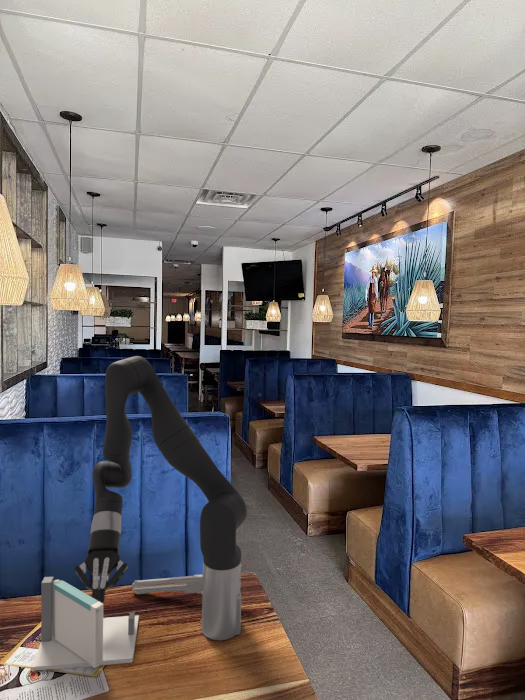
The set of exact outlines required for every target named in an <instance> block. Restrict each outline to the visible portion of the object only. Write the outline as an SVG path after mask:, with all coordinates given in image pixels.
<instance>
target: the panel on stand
mask: <svg viewBox="0 0 525 700" xmlns="http://www.w3.org/2000/svg"><path fill="white" fill-rule="evenodd" d="M54 581H55V580H54V576H44V577H43V579H42V581H41V583H40V584H41V585H40V586H41V590H40V591H41V593H40V595H41V596H40V597H41V600H40V601H41V603H40V604H41V612H40V613H41V617H40V618H41V621H40V623H41V624H40V625H41V627H40V628H41V629H40V631H41V633H40V635H41V637H40V639H41V640H40V641H41V642H40V644H39V647H38V649H37V651H36V653H35V656H34V658H33V659H32V663H31V665H30V668H29V669H30V670H31V671H32V670H41V669H54V670H63V669H64V668H65V669H74V668H86V666H87V667H88V668H89V667H92V666H91V665H90V663H88V662H87V661H85V660H84V659H82V658H81V657H80V656H78V655H77V654H75V653H74V652H73V651H71V650H70V649H68V648H67V647H65V646H64V645H63V644H61V643H60V642H58V641H57V640H56V639H55V638H54V637H53V582H54ZM135 613H136V612H135V611H132V612H129V613H128V614H129V615H124V616H123V615H122V616H112V617H111V616H110V617H103V663H102V664H100V665H99V666H108V665H116V664H117V665H118V664H119V665H120V664H132V663H133V661H134V656H135V649H136V641H137V634H138V628H139V627H138V625H139V620H140V615H139V614H135ZM61 668H62V669H61ZM30 670H29V671H30ZM31 671H30V672H31ZM32 672H33V671H32Z"/></svg>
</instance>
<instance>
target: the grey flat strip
mask: <svg viewBox="0 0 525 700" xmlns="http://www.w3.org/2000/svg"><path fill="white" fill-rule="evenodd" d="M131 585H132V586H131V587H132V592H133V593H135V594H136V595H143V594H144V595H146V594H150V593H152V592H164V593H172V592H184V593H185V594H194V593H197V595H202V588H203V573H202V574H194V575H188V576H187V575H186V576H177V577H176V576H175V577H166V578H165V577H164V578H153V579H142V580H139V579H135V580H134V581H133V583H132V584H131ZM241 587H242V581H241V580H240V588H241Z"/></svg>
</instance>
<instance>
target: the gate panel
mask: <svg viewBox="0 0 525 700" xmlns="http://www.w3.org/2000/svg"><path fill="white" fill-rule="evenodd" d="M103 618H104V604H103V603H101V602H99V601H97V600H96V599H94V598H92V596H90V595H88V594H87V593H85V592H84V591H82V590H80V589H79V588H76V587H75V586H73V585H71V583H70V584H69V583H67V582H66V581H64V580H60V579H55V580H54V582H53V637H54V638H55V639H56V640H57V641H58V642H60V643H61V644H63V645H64V646H65V647H67V648H68V649H70V650H71V651H73V652H74V653H75V654H77V655H78V656H80V657H81V658H82V659H84V660H85V661H87V662H88V663H90V665H91V666H90V667H92V668H94V669H96V668H97V667H99V666H101V665H100V664H102V663H103Z"/></svg>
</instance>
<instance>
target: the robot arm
mask: <svg viewBox="0 0 525 700" xmlns="http://www.w3.org/2000/svg"><path fill="white" fill-rule="evenodd" d="M104 386H105V387H104V391H105V413H106V414H105V416H106V417H105V418H106V419H105V420H106V424H105V426H106V427H105V432H104V433H105V435H104V440H103V449H102V456H103V458H104V459H105V460H100V461H98V462H96V464H95V465H94V466H93V469H92V482H93V488H94V492H95V493H94V494H95V502H94V510H93V517H92V522H91V526H90V532H89V540H88V547H87V548H88V549H87V554H86V556H85V557H84V561H83V562H81V564H80V565H75V567H74V571H75V574H77V576H78V578H79V579H80V580H81V582H82V583H83V585H84V586H85V588H86V589H87V590H90V591H92V592H91V597H92V598H94V599H96V600H97V601H99V602H101V603H103V605H104V604H105V598H106V591H107V590H109V589H113V588H114V587H115V585H117V583H118V582H119V580H120V579H121V578H122V577H123V575H124V574H125V573H126V572H127V570H128V563H127V562H123V561H122V560H121V556H120V543H121V534H122V512H123V511H122V510H123V503H124V502H123V496H122V495H121V494H120V493H118V492H115V491H111V490H110V489H107V488H115V489H116V488H117V489H121V488H122V489H123V488H126V487H127V486H129V485H130V483H131V481H132V477H133V475H132V473H133V471H132V467H131V461H130V450H131V446H132V439H133V430H132V429H133V428H132V425H131V421H129V418H128V416H127V415H126V414H127V413H126V404H127V401H128V397H129V396H131V395H134V394H136V393H140V395H141V396H142V397H143V399H144V400H145V402H146V404H147V406H148V408H149V410H150V415H151V427H152V435H153V436H152V437H153V441H154V443H155V445H156V447H157V448H158V450H159V451H160V453H161V454H162V455H163V458H164V459H165V460H166V461H167V463H168V464H169V465H170V466H171V467H173V468H174V469H175V470H176V471H178V472H179V473H180V474H181V475H183V476H185V477H186V478H188V479H190V480H191V481H192V482H193V483H194V484H196V485H197V486H198V488H199V490H201V492H202V493H203V495H204V496H205V498H206V499H207V501H208V502H207V503H206V504H205V505H204V506H203V508H202V509H201V512H200V519H199V538H200V539H199V543H200V544H199V545H200V552H201V555H202V556H203V557H202V574H203V588H202V590H201V591H202V594H201V595H202V596H201V597H202V598H201V620H200V621H201V632H202V634H203V635H204V636H205V637H206V638H207V639H210V640H212V641H213V640H214V641H227V640H229V639H231V638H233V637H235V636H237V635H241V628H242V627H241V626H242V625H241V622H242V619H241V618H242V594H241V587H240V580H241V579H242V578H241V577H242V575H241V574H242V571H241V570H242V549H241V548H240V546H239V545H238V544H237V542H236V541H237V530H238V529H239V528H240V526H241V525H242V524H243V523H244V522H245V520H246V518H247V516H248V515H247V514H248V509H247V505H246V503H245V500H244V498H243V497H242V496H241V494H240V492H238V490H237V489H236V488H235V487H234V486H233V485H232V483H230V481H229V480H228V479H227V478H226V476H225V475H224V473H222V472H221V470H220V469H219V468H218V467H217V465H216V464H215V462H214V461H213V459H212V457H211V456H210V454H209V453H208V452H207V451H206V449H205V448H204V447H203V445H202V444H201V441H199V439H198V437H197V436H196V434H195V433H194V431H193V430H192V428H191V427H190V425H189V424H188V423H187V421H186V420H185V419H184V417H183V415H182V414H181V413H180V412H179V410H178V408H177V407H176V406H175V404H174V402H173V400H172V398H171V397H170V396H169V394H168V393H167V391H166V389H165V387H164V386H163V384H162V382H161V379H160V378H159V376H158V374H157V372H156V370H155V369H154V367H153V365H152V364H151V363H150V362H149V361H148V360H147V359H146V358H145V357H143V356H139V355H135V356H131V357H130V356H129V357H128V358H125V359H124V358H123V359H121V360H120V359H119V360H117V361H114V362H112V363H111V364H110V365H109V366H108V367H107V368H106V371H105V379H104ZM86 567H87V569H88V571H89V573H90V575H92V582H91V581H90V580H89V579H88V577H87V576H86V572H87V569H86ZM115 569H117V570H116V572H115V573H114V574H113V575H112V576H111V578H109V577H110V574H112V573H113V571H114V570H115ZM100 578H101V579H100Z"/></svg>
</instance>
